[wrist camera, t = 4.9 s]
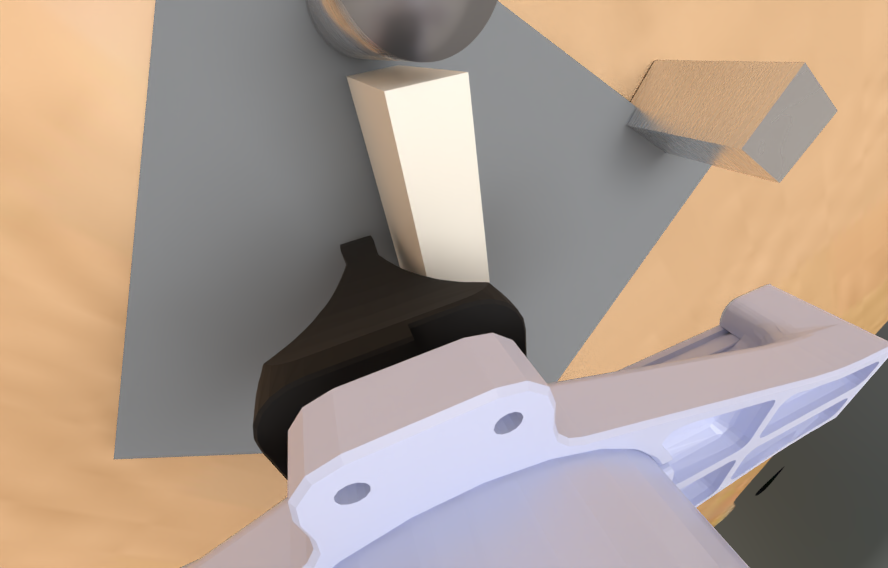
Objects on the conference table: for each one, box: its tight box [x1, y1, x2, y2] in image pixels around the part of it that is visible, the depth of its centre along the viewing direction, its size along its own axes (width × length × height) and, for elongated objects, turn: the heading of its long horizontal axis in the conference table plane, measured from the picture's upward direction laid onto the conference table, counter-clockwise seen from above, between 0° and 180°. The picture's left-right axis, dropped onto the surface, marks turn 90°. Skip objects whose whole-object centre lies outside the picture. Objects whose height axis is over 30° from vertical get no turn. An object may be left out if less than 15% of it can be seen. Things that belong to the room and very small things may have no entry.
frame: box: [306, 0, 837, 183], centre depth 10 cm, size 3×15×6 cm, turn 75°
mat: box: [114, 0, 711, 459], centre depth 16 cm, size 20×21×1 cm
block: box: [346, 65, 490, 283], centre depth 11 cm, size 11×2×5 cm, turn 10°
